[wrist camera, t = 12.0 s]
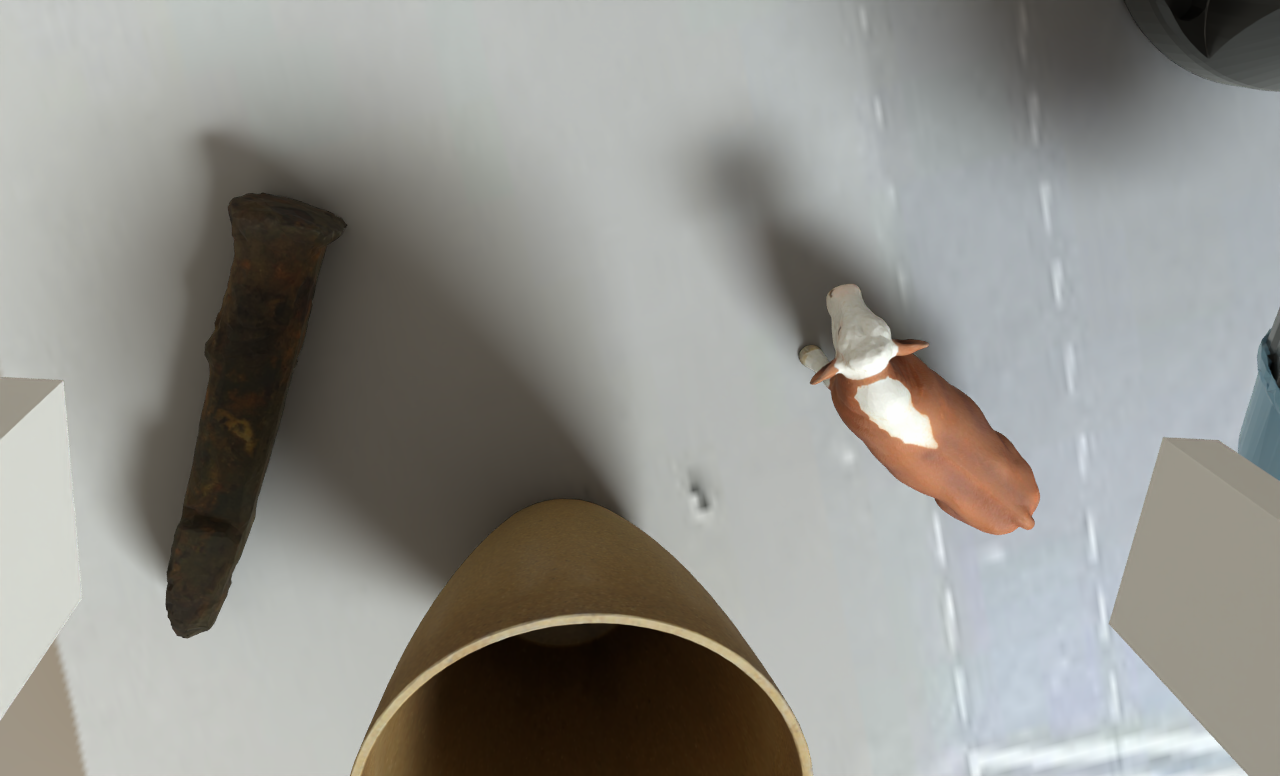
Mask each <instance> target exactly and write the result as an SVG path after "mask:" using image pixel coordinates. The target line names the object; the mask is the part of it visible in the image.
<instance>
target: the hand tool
mask: <svg viewBox="0 0 1280 776" xmlns="http://www.w3.org/2000/svg"><path fill="white" fill-rule="evenodd" d="M228 211H229V216H230V220H231V224H232V236H233V238H234V252H235V256H234V261H233V264H232V267H231V272H230V277H229V281H228V287H227V290H226V293H225V295H224V298H223V303H222V308H221V310H220V312H219V313H218V315H217V318H216V321H215V330H214V332H213V334H212V336H211V337H210V339H209V340H208V341H207V342H206V344H205V356H206V358H207V360H208V362H209V368H210V375H209V382H208V387H207V392H206V397H205V402H204V406H203V410H202V414H201V419H200V424H199V433H198V437H197V442H196V448H195V454H194V460H193V466H192V470H191V474H190V478H189V483H188V487H187V491H186V495H185V499H184V505H183V513H182V518H181V521H180V523H179V525H178V526H177V529H176V532H175V535H174V542H173V545H172V550H171V557H170V561H169V566H168V570H167V582H168V585H167V590H166V610H167V611H168V618H169V620H170V621H171V626H172V629H173V630H174V632H175V633H176V635H177V636H181V637H183V638H190V637H192V636H194V635H197V634H199V633H201V632H205V631H208V630H209V629H210V628H211V627H212V626H213V624H214V623H215V621H216V618H217V616H218V614H219V612H220V610H221V607H222V605H223V603H224V601H225V599H226V597H227V595H228V594H227V593H228V590H229V588H230V585H231V583H232V582H231V577H232V573H233V571H234V569H235V566H236V565H237V563H238V561H239V560H240V557H241V555H242V552H243V549H244V546H245V544H246V541H247V538H248V536H249V533H250V530H251V527H252V524H253V522H254V519H255V514H256V505H257V500H258V496H259V493H260V490H261V486H262V483H263V479H264V476H265V473H266V469H267V466H268V463H269V460H270V456H271V452H272V448H273V445H274V442H275V438H276V435H277V431H278V427H279V424H280V420H281V417H282V413H283V409H284V404H285V399H286V395H287V391H288V387H289V385H290V382H291V378H292V374H293V369H294V368H295V366H296V364H297V362H298V360H297V358H298V355H299V353H300V350H301V348H302V345H303V342H304V338H305V334H306V330H307V325H308V319H309V316H310V312H311V308H312V300H313V296H314V292H315V287H316V282H317V278H318V275H319V271H320V268H321V264H322V261H323V258H324V254H325V251H326V247H327V245H328V244H329V243H331V242H333V241H334V240H336V239H337V238H339V236H340V235H341V234H342V233H343V231H344V228H345V227H346V226H347V224H346V223H345V222H344V220H343V219H342V218H340V217H337V216H335V215H334V214H333V213H331V212H329V211H326V210H322V209H319V208H316V207H313V206H311V205H308V204H306V203H303V202H301V201H297V200H294V199H290V198H287V197H280V196H275V195H270V194H266V193H261V194H254V193H250V194H246V195H244V196H241V197H236V198H233V199H232V200H231V201H230V203H229V206H228Z"/></svg>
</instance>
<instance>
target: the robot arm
mask: <svg viewBox="0 0 1280 776" xmlns="http://www.w3.org/2000/svg"><path fill="white" fill-rule="evenodd" d="M1124 1H1125V3H1126V5H1127V7H1128V9H1129V11H1130V13H1131V15H1132V16H1133V18H1134V20H1135V22H1136V23H1137V25H1138V26H1139V27H1140V29H1141V30H1142V32H1143V33H1144V34H1145V35H1146V37H1147V38H1148V39H1149V40H1150V41H1151V43H1152V44H1153V45H1154V46H1155V47H1156V48H1157V49H1158V50H1159V51H1160V52H1162V53H1163V54H1164V55H1165V56H1166V57H1168V58H1169V59H1170V60H1171V61H1173V62H1174V63H1176V64H1177V65H1179V66H1180V67H1182V68H1184V69H1186V70H1187V71H1189V72H1191V73H1193V74H1195V75H1198V76H1200V77H1202V78H1205V79H1208V80H1211V81H1214V82H1218V83H1222V84H1226V85H1233V86H1239V87H1245V88H1252V89H1258V90H1265V91H1279V92H1280V0H1124ZM1257 362H1258V371H1259V372H1258V375H1257V379H1256V383H1255V386H1254V389H1253V393H1252V396H1251V399H1250V402H1249V405H1248V409H1247V412H1246V415H1245V418H1244V422H1243V425H1242V428H1241V432H1240V436H1239V444H1238V453H1237V452H1235V451H1234V450H1232V449H1231V448H1229V447H1228V446H1226V445H1225V444H1223V443H1222V442H1220V441H1219V440H1204V439H1185V438H1165V437H1163V439H1162V443H1161V446H1160V450H1159V453H1158V457H1157V460H1156V464H1155V467H1154V470H1153V474H1152V477H1151V481H1150V484H1149V488H1148V491H1147V495H1146V498H1145V501H1144V505H1143V508H1142V512H1141V515H1140V519H1139V522H1138V526H1137V529H1136V532H1135V536H1134V539H1133V543H1132V546H1131V550H1130V553H1129V557H1128V560H1127V563H1126V567H1125V570H1124V574H1123V577H1122V581H1121V584H1120V588H1119V591H1118V594H1117V598H1116V601H1115V605H1114V608H1113V612H1112V615H1111V619H1110V622H1109V624H1110V625H1111V627H1112V628H1113V629H1114V630H1115V631H1116V632H1117V633H1118V634H1119V635H1120V636H1121V637H1122V639H1123V640H1124V641H1125V642H1126V643H1127V644H1128V645H1129V646H1130V647H1131V648H1132V649H1133V650H1134V652H1135V653H1136V654H1137V655H1138V656H1139V657H1140V658H1141V659H1142V660H1143V661H1144V662H1145V664H1146V665H1147V666H1148V667H1149V668H1150V669H1151V670H1152V671H1153V672H1154V673H1155V674H1156V675H1157V677H1158V678H1159V679H1160V680H1161V681H1162V682H1163V683H1164V684H1165V685H1166V686H1167V687H1168V689H1169V690H1170V691H1171V692H1172V693H1173V694H1174V695H1175V696H1176V697H1177V698H1178V699H1179V701H1180V702H1181V703H1182V704H1183V705H1184V706H1185V707H1186V708H1187V709H1188V710H1189V711H1190V712H1191V714H1192V715H1193V716H1194V717H1195V718H1196V719H1197V720H1198V721H1199V722H1200V723H1201V724H1202V726H1203V727H1204V728H1205V729H1206V730H1207V731H1208V732H1209V733H1210V734H1211V735H1212V736H1213V737H1214V739H1215V740H1216V741H1217V742H1218V743H1219V744H1220V745H1221V746H1222V747H1223V748H1224V749H1225V751H1226V752H1227V753H1228V754H1229V755H1230V756H1231V757H1232V758H1233V759H1234V760H1235V761H1236V762H1237V764H1238V765H1239V766H1240V767H1241V768H1242V769H1243V770H1244V771H1245V772H1246V773H1247V774H1248V776H1280V308H1279V311H1278V314H1277V316H1276V319H1275V321H1274V324H1273V327H1272V328H1271V329H1269V331H1268V333H1267V334H1266V336H1265V337H1264V338H1263V339H1262V341H1261V344H1260V346H1259V349H1258V355H1257ZM81 599H82V589H81V577H80V565H79V554H78V542H77V531H76V519H75V507H74V496H73V484H72V473H71V461H70V450H69V438H68V426H67V415H66V403H65V392H64V380H48V379H29V378H9V377H0V720H1V718H2V717H3V716H4V714H5V713H6V711H7V710H8V708H9V707H10V705H11V704H12V702H13V701H14V699H15V698H16V696H17V695H18V693H19V692H20V690H21V689H22V687H23V686H24V684H25V683H26V681H27V680H28V678H29V677H30V675H31V674H32V672H33V671H34V669H35V668H36V666H37V665H38V663H39V662H40V660H41V659H42V657H43V655H44V654H45V653H46V651H47V650H48V648H49V647H50V645H51V644H52V642H53V641H54V639H55V638H56V636H57V635H58V633H59V632H60V630H61V629H62V627H63V626H64V624H65V623H66V621H67V620H68V618H69V617H70V615H71V614H72V612H73V611H74V610H75V608H76V607H77V605H78V604H79V602H80V601H81Z"/></svg>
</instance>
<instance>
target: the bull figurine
mask: <svg viewBox="0 0 1280 776" xmlns="http://www.w3.org/2000/svg"><path fill="white" fill-rule="evenodd" d="M826 302H827V310H828V312H829V314H830V316H831V318H832V336H833V344H834V348H835V350H836V353H835V359H834V360H832V361H831V362H829V361H828V359H827V358H826V356H825V355H824V353H823V352H822V351H821V349H820V348H819V347H817V346H815V345H808V346H805V347H804V348H803V349H802V350H801V351H800V353H799V359H800V362H801V363H802V364H803V365H805V366H806V367H808V368H810V369H812V370H813V371H814V372H815V373H816V374H815V375H814V376H813V378H812V379H811V381H810V384H812V385H814V384H817V383H820V382H821V381H823V382H824V384H825V386H826V387H827V388H828V389H830V390H831V396H832V400H833V404H834V406H835V408H836V410H837V412H838V414H839V416H840V417H841V419H842V421H843V422H844V423H845V424H846V426H847V427H848V428H849V429H850V430H851V431H852V432H853V433H854V434H855V435H856V436H857V437H858V438H860V439H861V440H862V441H863V442H864V443H865V445H866V446H867V447H868V449H869V450H870V451H871V453H872V454H873V455H874V456H875V457H876V458H877V459H878V460H879V461H880V462H881V463H882V464H883V465H884V466H885V467H886V468H887V469H888V470H889V472H890V473H891V474H892V475H893V476H894V477H896V478H897V479H898V480H899V481H900V482H902V483H904V484H906V485H907V486H909V487H911V488H913V489H915V490H917V491H919V492H921V493H923V494H926V495H928V496H931V497H934V498H935V501H936V502H937V504H938V505H939V507H940V508H941V509H942V510H943V511H945V512H946V513H948V514H949V515H951V516H952V517H954V518H956V519H958V520H960V521H962V522H964V523H966V524H968V525H970V526H972V527H974V528H976V529H979V530H981V531H983V532H986V533H990V534H994V535H1002V534H1007V533H1010V532H1013V531H1014V530H1015V529H1017V528H1018V527H1022V528H1024V529H1026V530H1030V529H1032V528H1033V527H1034V525H1035V521H1034V519H1033V518H1032V514H1033V512H1034V511H1035V509H1036V508H1037V506H1038V503H1039V500H1040V493H1039V489H1038V486H1037V484H1036V481H1035V478H1034V475H1033V472H1032V469H1031V468H1030V466H1029V464H1028V463H1027V462H1026V461H1025V460H1024V459H1023V458H1022V457H1021V455H1020V454H1019V452H1018V451H1017V450H1016V448H1015V447H1014V445H1013V444H1012V443H1011V442H1010V441H1009V440H1008V439H1007V438H1006V437H1005V436H1004V435H1002V434H1001V433H999V432H997V431H994V430H993V429H992V428H991V426H990V425H989V423H988V421H987V420H986V418H985V416H984V414H983V413H982V411H981V410H980V408H979V407H978V406H977V405H976V403H975V402H974V401H973V400H972V399H971V398H970V397H968V396H967V395H966V394H965V393H963V392H962V391H960V390H959V389H957V388H955V387H954V386H952V385H950V384H949V383H948V382H947V381H945V380H944V379H943V378H942V377H941V376H939V375H938V374H937V373H936V372H934V371H933V370H931V369H930V368H929V367H928V366H927V365H925V364H924V363H923V362H922V361H921V360H920V359H919V358H918V357H916V356H915V355H914V354H912V353H914V352H916V351H917V350H920V349H923V348H926V347H928V345H929V344H928V343H927V342H925V341H921V340H913V339H908V340H898V339H891V333H890V328H889V327H888V325H887V324H886V322H885V321H884V320H883V319H882V318H880V317H878V316H876V315H874V313H873V312H872V311H871V310H870V309H869V308H868V307H867V306H866V305H865V303H864V301H863V298H862V295H861V291H860V288H859V287H858V286H857V285H855V284H845V285H840V286H837V287H835V288H833V289H832V290H831V291H830V292H829V293H828V295H827V298H826Z"/></svg>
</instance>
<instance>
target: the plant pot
mask: <svg viewBox="0 0 1280 776" xmlns="http://www.w3.org/2000/svg"><path fill="white" fill-rule="evenodd" d="M350 776H813V771H812V763H811V758H810V754H809V750H808V746H807V743H806V740H805V738H804V735H803V733H802V730H801V727H800V725H799V723H798V721H797V719H796V717H795V715H794V714H793V712H792V710H791V708H790V707H789V705H788V703H787V702H786V700H785V699H784V697H783V695H782V694H781V692H780V691H779V689H778V688H777V686H776V684H775V683H774V681H773V680H772V678H771V677H770V675H769V674H768V672H767V671H766V669H765V668H764V666H763V665H762V663H761V662H760V661H759V659H758V658H757V656H756V655H755V653H754V652H753V651H752V649H751V648H750V646H749V645H748V644H747V642H746V641H745V639H744V638H743V637H742V635H741V634H740V632H739V631H738V629H737V628H736V627H735V625H734V624H733V623H732V621H731V620H730V619H729V617H728V616H727V615H726V614H725V612H724V611H723V610H722V609H721V608H720V606H719V605H718V604H717V603H716V601H715V600H714V599H713V598H712V597H711V595H710V594H709V593H708V592H707V591H706V590H705V589H704V587H703V586H702V585H701V584H700V583H699V582H698V581H697V580H696V579H695V578H694V577H693V575H692V574H691V573H690V572H689V571H688V570H687V569H686V568H685V567H684V566H683V565H682V564H681V563H680V562H679V561H678V560H677V559H676V558H675V557H674V556H672V555H671V554H670V553H669V552H668V551H667V550H666V549H664V548H663V547H662V546H661V545H660V544H659V543H658V542H656V541H655V540H654V539H652V538H651V537H650V536H649V535H647V534H646V533H645V532H643V531H642V530H640V529H639V528H638V527H636V526H635V525H633V524H632V523H630V522H629V521H627V520H626V519H624V518H622V517H621V516H619V515H617V514H616V513H614V512H612V511H610V510H608V509H606V508H604V507H602V506H599V505H597V504H594V503H591V502H587V501H583V500H577V499H554V500H548V501H543V502H540V503H536V504H534V505H531V506H529V507H526V508H524V509H522V510H520V511H519V512H517V513H515V514H514V515H513V516H511V517H510V518H509V519H507V520H506V521H505V522H503V523H502V524H501V525H500V526H499V527H498V528H496V529H495V530H494V531H493V532H492V533H491V534H490V535H489V536H488V537H487V538H486V539H484V540H483V542H482V543H481V544H480V545H479V546H478V547H477V548H476V549H475V550H474V551H473V552H472V553H471V554H470V555H469V557H468V558H467V559H466V560H465V561H464V563H463V564H462V565H461V566H460V567H459V569H458V570H457V571H456V572H455V573H454V575H453V576H452V577H451V579H450V580H449V582H448V583H447V584H446V586H445V587H444V588H443V590H442V591H441V592H440V594H439V595H438V597H437V598H436V599H435V601H434V602H433V604H432V605H431V607H430V609H429V610H428V612H427V613H426V615H425V616H424V618H423V619H422V621H421V623H420V625H419V626H418V628H417V630H416V631H415V633H414V635H413V636H412V638H411V640H410V642H409V643H408V645H407V647H406V649H405V651H404V653H403V655H402V657H401V658H400V661H399V663H398V665H397V667H396V669H395V671H394V673H393V675H392V677H391V679H390V681H389V683H388V685H387V688H386V690H385V692H384V694H383V697H382V699H381V701H380V703H379V706H378V708H377V710H376V712H375V715H374V717H373V719H372V721H371V724H370V726H369V728H368V730H367V733H366V735H365V737H364V740H363V742H362V745H361V747H360V750H359V752H358V755H357V757H356V759H355V762H354V765H353V768H352V771H351V774H350Z"/></svg>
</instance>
